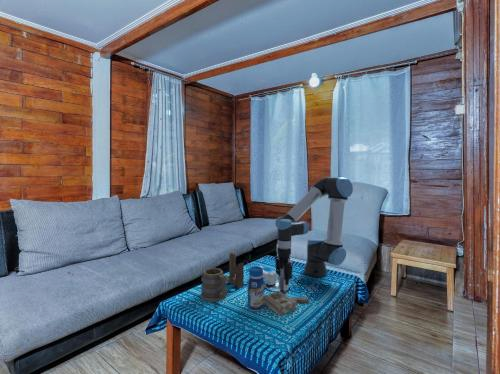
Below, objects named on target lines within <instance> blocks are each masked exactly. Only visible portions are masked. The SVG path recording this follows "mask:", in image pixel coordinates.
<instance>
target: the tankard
mask: <svg viewBox="0 0 500 374" xmlns="http://www.w3.org/2000/svg"><path fill="white" fill-rule="evenodd" d="M228 276H229V275H225V274H224V271H223V270H222V269H221V268H217V267H210V268H205V269H204V270H203V272H202V276H201V282H202V285H201V292H200V295H199V298H200V299H201V300H203V301H204V302H205V303H207V302H209V303H216V302H219V301H222V300H225V299H226V297H227V293H228V289H227V286H226V285H227V284H226V282H228V281H229V280H230V279H229V278H228ZM228 283H229V282H228Z"/></svg>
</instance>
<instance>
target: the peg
mask: <svg viewBox="0 0 500 374" xmlns="http://www.w3.org/2000/svg"><path fill="white" fill-rule="evenodd" d="M284 278H285V275H284V267H282V268H281V269H280V288H279V291H280V292H281V293H283V294H285V295H286V294H287V291H288V290H285V291H284Z"/></svg>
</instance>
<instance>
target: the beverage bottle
mask: <svg viewBox="0 0 500 374" xmlns="http://www.w3.org/2000/svg"><path fill="white" fill-rule="evenodd" d="M248 269H249V271H248V274H249V275H248V276H249V277H248V278H247V279H248V280H247V304H246V305H247V309H248V310H249V311H250V312H251V311H252V312H261V311H263V309H264V307H265V304H264V295H265V285H264V284H265V280H264V279H263V278H262V275H263V270H264V268H263V269H262V268H261V267H258V266H250V267H249V268H248Z"/></svg>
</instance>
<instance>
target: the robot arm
mask: <svg viewBox="0 0 500 374" xmlns="http://www.w3.org/2000/svg"><path fill="white" fill-rule="evenodd" d="M309 188H310V189H309V191H308V192H307V193H306V194H305V195H304V196H302V198H301V199H300V200H299V201H298V202H297V203H296V204H295V205H294V206H293V207H292V208H291V209H290V210H289V211H288V212H287V213H286V214H285V215H284V216H279V217H277V218H276V219H275V223H274V224H275V226H276V228H277V251H276V253H277V255H275V256H274V258H275V272H276V275H277V276H278V278H277V281H278V289H280V269H281V268H282V267H284V275H285V278H284V291H285V290H287V291H288V290H289V282H290V280H291V279H292V278H293V267H294V263H295V262H294V261H292V260H291V254H292V237H295V236H304V235H306V234H308V233H309V232H310V231H309V230H310V226H309V224H308V222H307V221H303V220H299V219H301V217H302V216H303V215H304V214H305V213H306V212H307V211H308V210H309V209H310V208H311V207H312V206H313V205H314V204H315V203H316V202H317V201H318V200H319V199H320V200H321V199H322V198H323V197H324V196H328V197H327V198H328V200H329V211H328V220H327V232H326V238H320V237H316V238H315V237H314V238H309V239H308V240H307V245H306V248H307V249H306V262H305V265H304V267H303V268H304V269H303V273H304V274H305V275H307V276H310V277H316V278H319V277H320V278H321V277H325V276H327V275H328V268H327V266H326V265H327V264H329V265H333V266H335V267H336V266H337V267H338V266H340V265H342V264H343V263H344V261H345V260H346V257H347V251H346V249H345V248H344V243H343V242H342V233H343V224H344V223H343V221H344V214H345V213H344V212H345V204H346V202H347V201H348V199H349V198H350V197H351V196H352V194H353V191H354V188H353V183H352V182H351V180H350V179H349V178H346V177H339V176H337V177H335V176H327V177H323V178H321V179H320V180H318V181H316V182H315V183H314V184H313V185H312V186H311V187H309ZM326 263H327V264H326Z"/></svg>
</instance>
